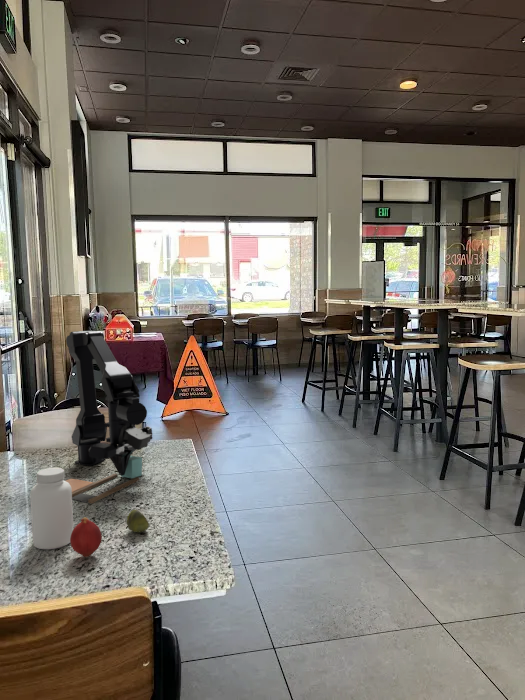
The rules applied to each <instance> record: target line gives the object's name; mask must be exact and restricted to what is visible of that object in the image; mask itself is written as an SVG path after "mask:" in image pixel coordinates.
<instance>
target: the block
mask: <svg viewBox="0 0 525 700" xmlns="http://www.w3.org/2000/svg"><path fill="white" fill-rule="evenodd" d="M142 471H143V457H141V456H134V455H131V456H130V458H129V461H128V465H127V468H126V472H125V475H120V477H123V478H129V479H133V478H135V477H138V478H139V477H141V476H143V472H142Z"/></svg>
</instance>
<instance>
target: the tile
mask: <svg viewBox="0 0 525 700" xmlns="http://www.w3.org/2000/svg"><path fill="white" fill-rule="evenodd" d="M65 481H66V482H68V483H69V484H70V486H71V489H72V492H74V491H76V490H79V489H81V488H83V487H85V486H88V485H90V484H92V483H94V482H93V481H87V480H81V479H77V478H69V479H66V480H65Z"/></svg>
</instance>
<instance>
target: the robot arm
mask: <svg viewBox="0 0 525 700" xmlns="http://www.w3.org/2000/svg"><path fill="white" fill-rule="evenodd" d="M65 341H66V346H67V348H68V353H69V355H70V356H71V357H72V358H73V360H74V361H75V365H76V376H77V387H78V394H79V395H78V396H79V407H80V408H79V409H80V411H79V412H78V414H77V417H76V419H75V427H74V430H73V432H72V434H71V441H72V442H71V443H72V444H74V445H75V446H77V455H78V456H77V457H78V460H75V461H74V464H75V465H82V466H87V467H92V466H93V465H96V464H99V463H103V462H104V461H106V460H108V459H109V460H111V463H112V464H113V466H114V467H115V469H116V471H117V472H118V473H117V474H119V475H120V476H121V475H125V472H126V468H127V465H128V461H129V458H130V456H132V454H133V453H134V452H135V451H138V450H142V449H143V448H146V447H147V448H148V446H149V443H151V440H153V430H152V429H153V428H152V427H151V426H148V425H147V426H144V427H142V428H141V427H139V428H137V427H136V426H138V425H141V424H142V423H143V422H144V421H145V420H146V418H147V416H148V411H147V408H146V406H145V405H144V404H143V403H141V402H140V393H139V392H140V390H139V388H138V385H137V384H136V381H135V379H134V377H133V375H132V374H131V372H130V371H129V370H128V369H127V367H126V366H123V365H121V364H119V362H118V361H117V359H116V358H115V356H114V354H113V352H112V350H111V348H110V347H109V345H108V343H107V342H106V340H105V335H104V332H103V331H100V330H80V331H70V333H69V335H67V336H66V339H65ZM94 360H95V363H96V364H97V366H98V369H99V370H100V372H101V374H102V377H101V380H100V383H101V387H102V390H103V392H104V393H105V395H106V397H105V401H107V409H108V411H107V414H108V422H106V416H105V415H104V414H105V413H101V411H100V410H99V409H98V408H99V407H98V402H97V400H98V399H97V391H96V390H97V389H96V380H95V371H94V362H93V361H94ZM107 429H108V432H109V436H108V437H107ZM103 442H106V443H103Z"/></svg>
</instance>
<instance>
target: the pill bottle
mask: <svg viewBox="0 0 525 700" xmlns="http://www.w3.org/2000/svg"><path fill="white" fill-rule="evenodd" d="M65 478H66V477H65V469H64V468H61V467H47V468H42V469H40V470H38V471H37V473H36V484H35V485H33V487H31V490H30V493H29V494H30V495H29V497H30V512H31V513H30V516H31V532H32V545H33V546H34V547H35V548H37V549H40V550H53V549H59V548H63V547H64V546H66V545H68V544H69V545H70V544H71V543H70V537H71V534H72V531H73V529H74V513H73V500H72V489H71V486H70V484H69V483H68V482H66V480H65Z"/></svg>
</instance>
